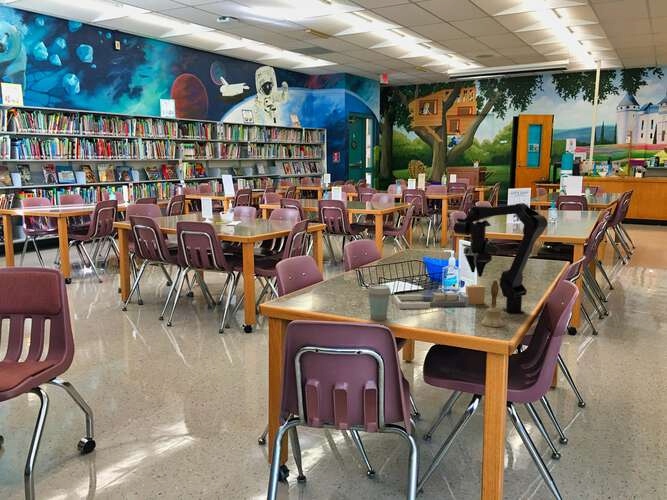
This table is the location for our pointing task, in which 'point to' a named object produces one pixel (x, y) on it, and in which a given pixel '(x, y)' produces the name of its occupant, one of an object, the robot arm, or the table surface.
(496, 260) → the table surface
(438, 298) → the tan wooden cube
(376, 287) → the coffee cup
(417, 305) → the tray
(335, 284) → the table surface
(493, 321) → the hand bell
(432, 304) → the slot rails
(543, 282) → the table surface
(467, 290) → the tan rectangular block
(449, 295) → the beige cube
